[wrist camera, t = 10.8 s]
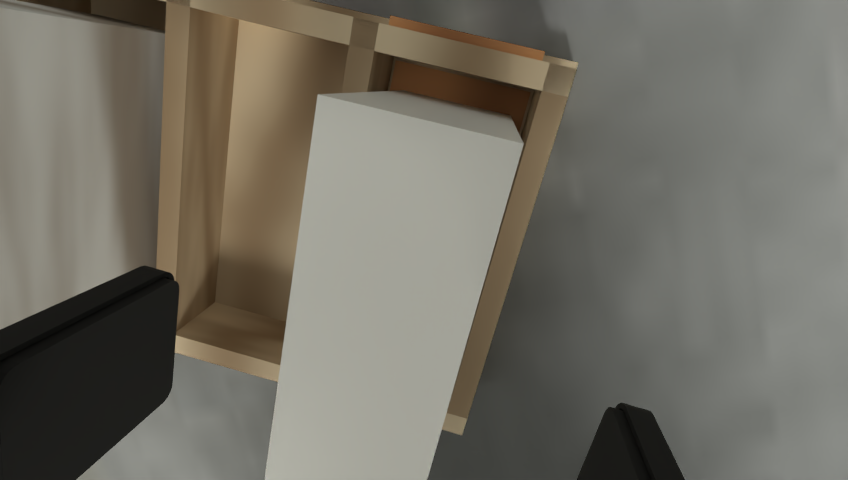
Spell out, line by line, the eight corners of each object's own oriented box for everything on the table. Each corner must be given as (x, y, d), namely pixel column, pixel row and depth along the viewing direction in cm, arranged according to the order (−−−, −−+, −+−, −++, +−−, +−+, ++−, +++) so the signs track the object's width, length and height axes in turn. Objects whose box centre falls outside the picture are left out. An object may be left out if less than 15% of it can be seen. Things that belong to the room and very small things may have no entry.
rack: (574, 63, 17) (664, 38, 8) (474, 385, 22) (457, 605, 13) (82, -51, 19) (-337, -189, 9) (87, 276, 23) (-187, 403, 14)
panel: (510, 115, 17) (523, 143, 9) (446, 348, 21) (411, 532, 12) (404, 90, 18) (317, 94, 9) (358, 324, 21) (263, 487, 12)
